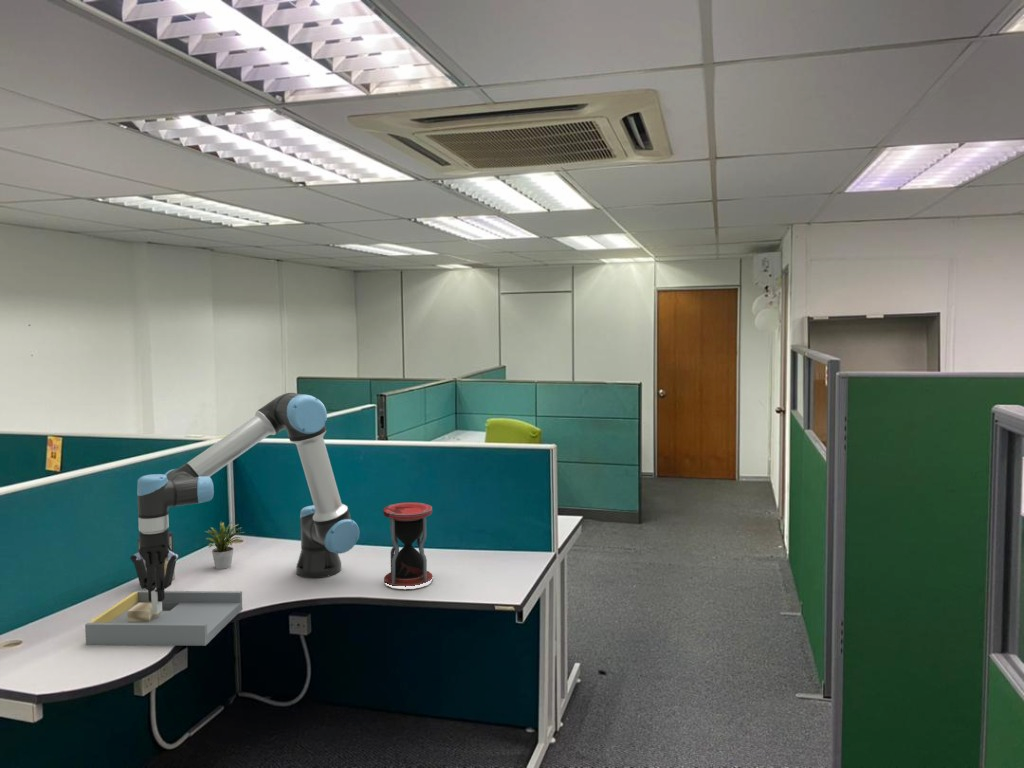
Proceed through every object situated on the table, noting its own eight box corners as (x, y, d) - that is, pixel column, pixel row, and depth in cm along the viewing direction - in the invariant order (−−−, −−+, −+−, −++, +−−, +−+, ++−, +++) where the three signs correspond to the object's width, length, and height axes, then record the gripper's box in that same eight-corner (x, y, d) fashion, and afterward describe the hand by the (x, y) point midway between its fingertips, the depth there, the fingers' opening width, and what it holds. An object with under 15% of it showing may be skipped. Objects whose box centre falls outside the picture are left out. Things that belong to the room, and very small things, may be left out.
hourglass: (406, 570, 240) (405, 499, 238) (442, 579, 231) (442, 506, 229) (373, 584, 226) (372, 509, 225) (410, 594, 218) (410, 517, 216)
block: (160, 613, 197) (160, 602, 196) (149, 621, 191) (148, 611, 190) (139, 612, 197) (139, 602, 197) (127, 621, 191) (127, 611, 191)
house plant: (223, 576, 233) (222, 529, 232) (191, 572, 237) (189, 526, 236) (252, 563, 247) (250, 519, 245) (220, 559, 251) (219, 515, 250)
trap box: (242, 609, 206) (241, 591, 205) (205, 645, 182) (204, 625, 181) (136, 608, 206) (136, 590, 206) (86, 644, 182) (85, 624, 182)
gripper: (183, 526, 196) (186, 607, 197) (138, 526, 196) (141, 606, 197) (170, 534, 188) (173, 617, 190) (123, 534, 188) (126, 617, 190)
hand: (157, 612), depth 194 cm, fingers closed
